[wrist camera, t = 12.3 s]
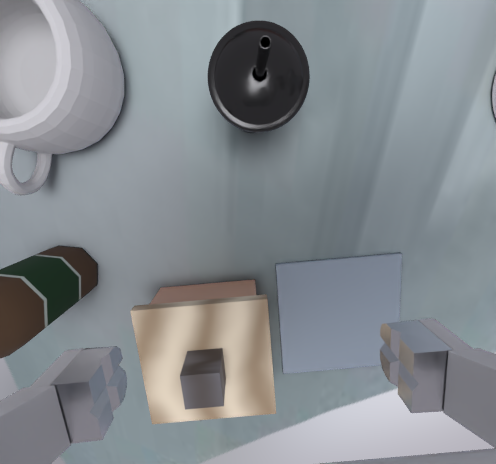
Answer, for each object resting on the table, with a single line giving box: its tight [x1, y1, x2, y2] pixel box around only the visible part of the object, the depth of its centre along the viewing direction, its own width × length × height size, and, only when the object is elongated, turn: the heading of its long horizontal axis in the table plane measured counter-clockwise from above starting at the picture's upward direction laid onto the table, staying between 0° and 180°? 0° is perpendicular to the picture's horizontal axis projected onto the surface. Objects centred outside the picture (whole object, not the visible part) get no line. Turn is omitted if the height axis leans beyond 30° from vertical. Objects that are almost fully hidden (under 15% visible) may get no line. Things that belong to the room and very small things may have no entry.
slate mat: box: [276, 253, 402, 374], centre depth 41 cm, size 17×17×1 cm
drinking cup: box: [208, 21, 310, 133], centre depth 25 cm, size 8×8×20 cm
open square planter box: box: [149, 279, 256, 305], centre depth 37 cm, size 13×13×7 cm
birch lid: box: [131, 294, 276, 424], centre depth 32 cm, size 15×15×5 cm
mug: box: [0, 0, 124, 195], centre depth 29 cm, size 21×17×10 cm
